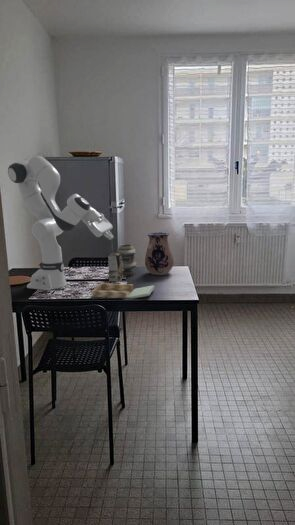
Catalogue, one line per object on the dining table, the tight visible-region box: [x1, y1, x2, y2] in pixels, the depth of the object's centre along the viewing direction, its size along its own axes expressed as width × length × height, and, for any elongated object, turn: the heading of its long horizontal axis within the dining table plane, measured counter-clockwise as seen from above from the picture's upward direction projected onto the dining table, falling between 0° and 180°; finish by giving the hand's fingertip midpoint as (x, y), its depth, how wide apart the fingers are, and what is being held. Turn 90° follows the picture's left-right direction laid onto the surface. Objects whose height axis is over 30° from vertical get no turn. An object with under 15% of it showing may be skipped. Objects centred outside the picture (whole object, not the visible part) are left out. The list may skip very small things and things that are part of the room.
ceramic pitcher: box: [144, 231, 174, 276], centre depth 250 cm, size 18×21×25 cm
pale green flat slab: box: [126, 284, 156, 299], centre depth 209 cm, size 1×14×12 cm
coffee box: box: [107, 252, 124, 282], centre depth 237 cm, size 9×6×16 cm
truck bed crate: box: [91, 282, 134, 299], centre depth 212 cm, size 18×14×4 cm
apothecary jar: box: [116, 243, 137, 276], centre depth 252 cm, size 12×12×18 cm
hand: (112, 238), depth 210 cm, fingers closed
